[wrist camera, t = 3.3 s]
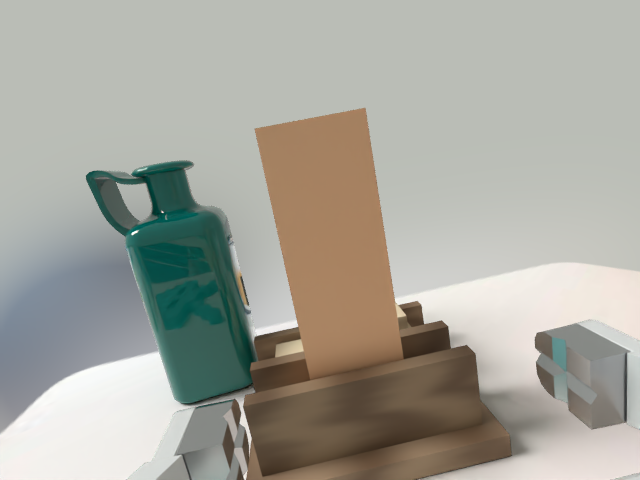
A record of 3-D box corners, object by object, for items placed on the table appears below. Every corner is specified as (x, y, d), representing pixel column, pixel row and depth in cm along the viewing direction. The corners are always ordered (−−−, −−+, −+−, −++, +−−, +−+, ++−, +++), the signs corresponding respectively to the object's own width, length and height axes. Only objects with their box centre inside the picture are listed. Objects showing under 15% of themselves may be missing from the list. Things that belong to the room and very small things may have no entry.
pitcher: (260, 343, 41) (213, 155, 36) (262, 385, 33) (202, 149, 28) (175, 366, 39) (114, 173, 35) (155, 416, 31) (72, 172, 27)
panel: (403, 403, 25) (358, 113, 20) (413, 423, 23) (365, 108, 19) (321, 422, 24) (257, 132, 20) (324, 445, 22) (254, 128, 18)
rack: (423, 342, 35) (414, 281, 33) (511, 455, 21) (503, 360, 20) (265, 378, 34) (249, 317, 32) (249, 519, 20) (222, 425, 19)
